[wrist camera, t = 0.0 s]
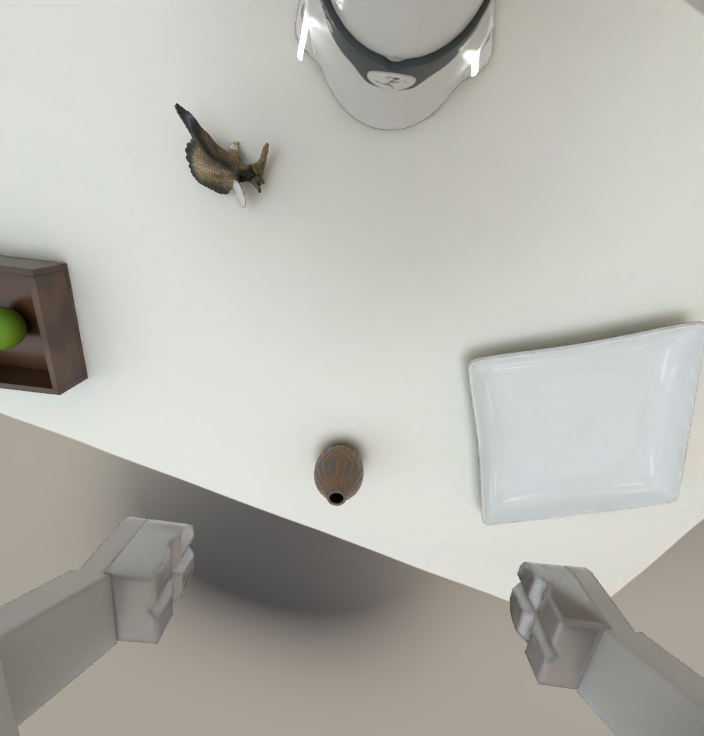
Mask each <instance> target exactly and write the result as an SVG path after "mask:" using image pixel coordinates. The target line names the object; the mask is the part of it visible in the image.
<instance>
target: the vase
mask: <svg viewBox="0 0 704 736" xmlns="http://www.w3.org/2000/svg"><path fill="white" fill-rule="evenodd" d="M363 474H364V471H363V464H362V461H361V458H360V457H359V455H358V454H357V452H356V451H355V450H354V449H352V448H350V447H348V446H345V445H334V446H331V447H328V448H327V449H325V450H324V451H323V452H322V453H321V455H320V456H319V458H318V459H317V462H316V465H315V470H314V479H315V483H316V486H317V488H318V490H319V492H320V493H321V494H322V495H323V496H324V497H325V498H327V500H328V502H329V503H330V504H332V505H335V506H339V505H342V504H343V503H344V502H345V501H346V500H348V499H350V498H351V497H353V496H354V495H355V494H356V493H357V491H358V490H359V488H360V486H361V484H362V481H363Z"/></svg>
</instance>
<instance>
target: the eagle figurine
mask: <svg viewBox="0 0 704 736" xmlns="http://www.w3.org/2000/svg"><path fill="white" fill-rule="evenodd" d="M175 109H176V110H177V113H178V114H179V116H180V118H181V119H182V121H183V123H184V124H185V125H186V128H187V129H188V131H189V133H190V134H191V136H192V138H193V139H191V143H187V148H186V149H185V151H186V153H187V156H186V159H187V161H188V162H189V163H190V164H189V168H190V169H191V173H192V174H193V176H194V177H195V179H196V180H197V181H198V182H199V183H200V184H202V185H204V186H205V187H208V188H210V189H211V190H214V191H215V192H217V193H219V194H228V193H229V191H231V189H234V191H235V193H236V195H237V197H238V202H239V205H240V206H241V207H243V208H244V207H245V205H246V200H245V196H244V192H243V190H242V187H241V185H240V182H244V181H250V182H251V183H252V184H253V185H254V186H255V188H256V189H257V190H258V192H259V193H260V192H261V188H260V186H261V183H262V184H264V180H263V174H264V168H265V164H266V159H267V154H268V147H269V144H268V143H266V144H265V146H264V147H263V151H262V154H261V158H260V160H259V161H258V162H256V163H254V164H253V165H247V166H246V165H243V164H241V159H240V155H239V151H238V145H239V142H235V143H234V142H233V143H232V144H231V145H230V148H229V151H226V150H224V149H223V148H221V147H220V146H218V145H217V144H216V143H215V142H214V140H213V139H212V138H211V137H210V135H209V134H208V133H207V132H206V131H205V130H204V129H203V128H202V127H201V126H200V125H199V123H198V122H197V120H196V119H195V118H194V117H193V115H192V114H191V113H190V112H189V111H186V110H185V109H184V108H183V107H181V106H180V105H179V104H177V103H176V105H175Z"/></svg>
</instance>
